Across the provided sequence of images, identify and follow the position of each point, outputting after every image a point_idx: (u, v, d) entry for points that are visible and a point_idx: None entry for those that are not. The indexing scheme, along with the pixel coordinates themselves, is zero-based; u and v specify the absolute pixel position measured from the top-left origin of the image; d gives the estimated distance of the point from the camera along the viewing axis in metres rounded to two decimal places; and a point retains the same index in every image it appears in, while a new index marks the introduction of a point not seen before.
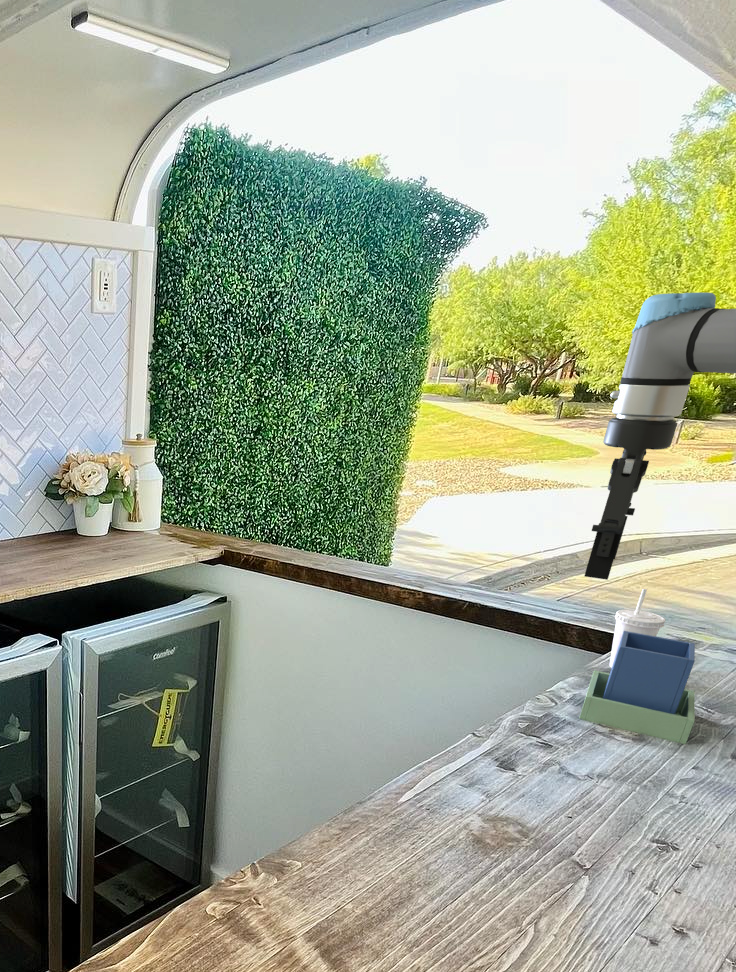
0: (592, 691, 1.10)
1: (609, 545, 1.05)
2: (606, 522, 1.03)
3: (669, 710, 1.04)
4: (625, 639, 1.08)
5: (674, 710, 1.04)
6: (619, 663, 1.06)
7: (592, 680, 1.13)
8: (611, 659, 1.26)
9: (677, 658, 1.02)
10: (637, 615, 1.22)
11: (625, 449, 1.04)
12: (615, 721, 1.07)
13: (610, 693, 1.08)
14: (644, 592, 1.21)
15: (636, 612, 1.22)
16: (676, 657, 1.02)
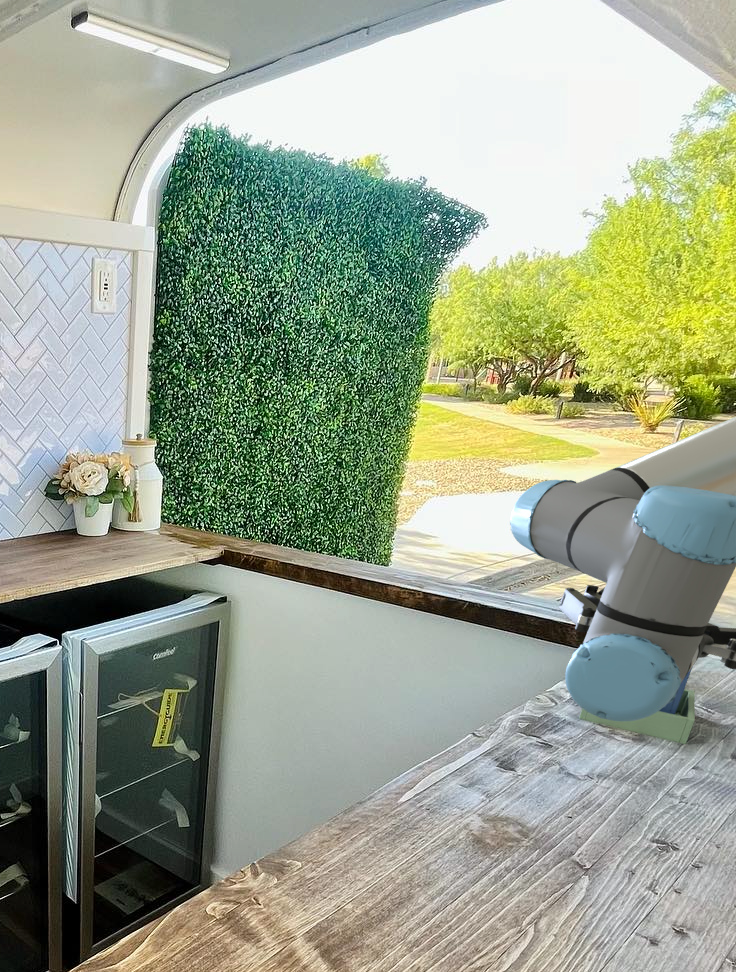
0: None
1: None
2: None
3: (669, 710, 1.04)
4: None
5: (674, 710, 1.04)
6: None
7: None
8: None
9: None
10: None
11: None
12: (615, 721, 1.07)
13: None
14: None
15: None
16: None
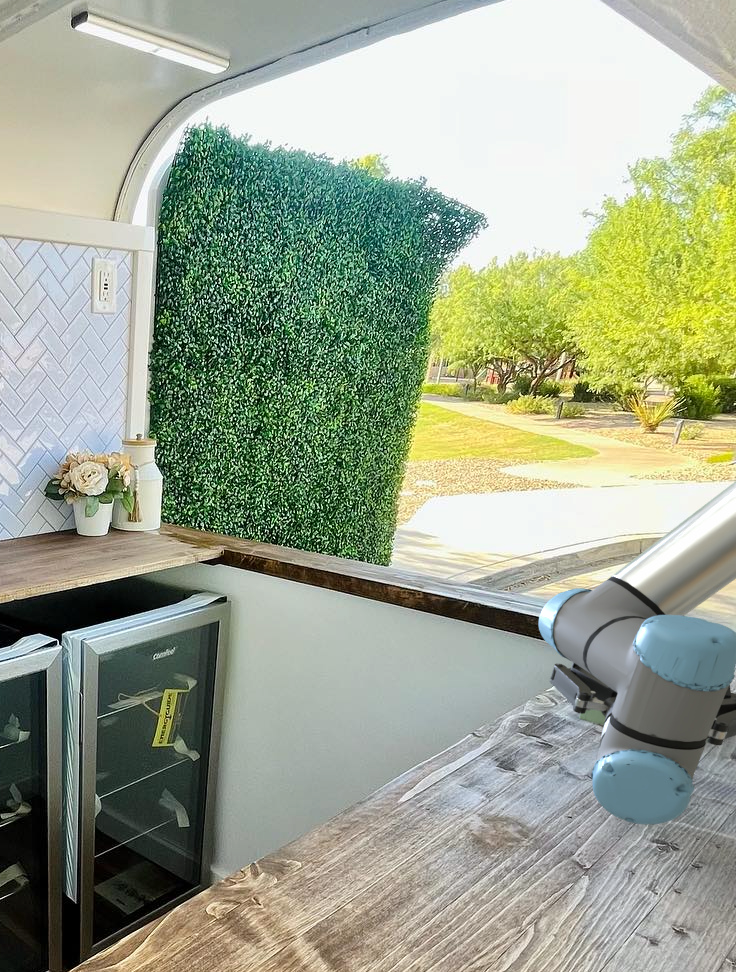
0: None
1: None
2: None
3: None
4: None
5: None
6: None
7: None
8: None
9: None
10: None
11: None
12: None
13: None
14: None
15: None
16: None
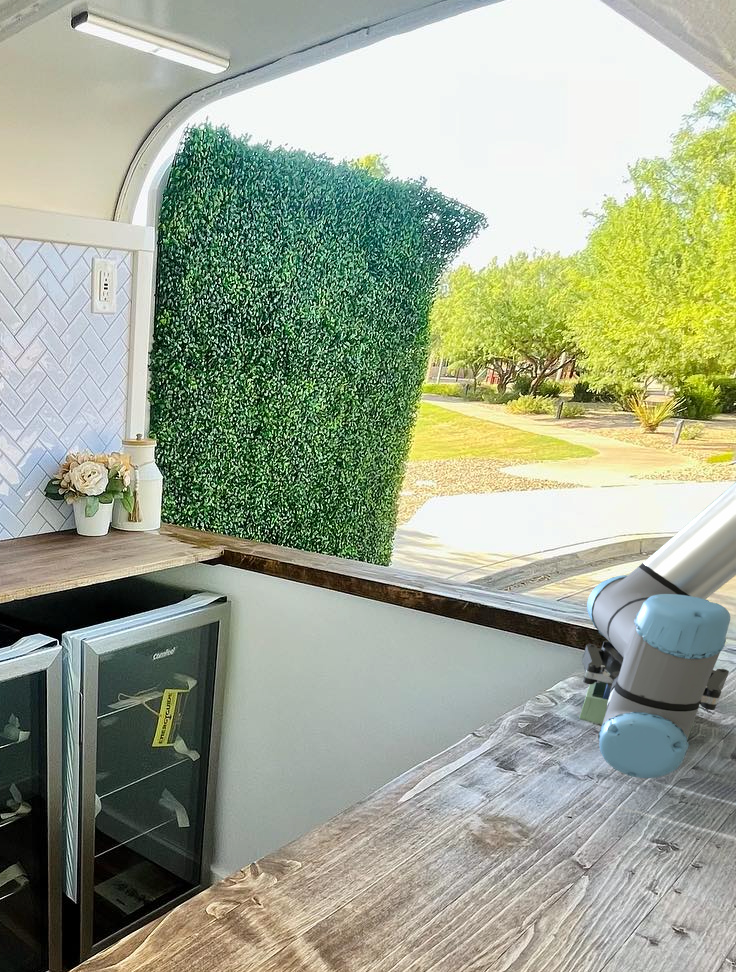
0: (592, 691, 1.10)
1: None
2: (722, 684, 1.00)
3: None
4: None
5: None
6: None
7: None
8: None
9: None
10: None
11: None
12: None
13: None
14: None
15: None
16: None
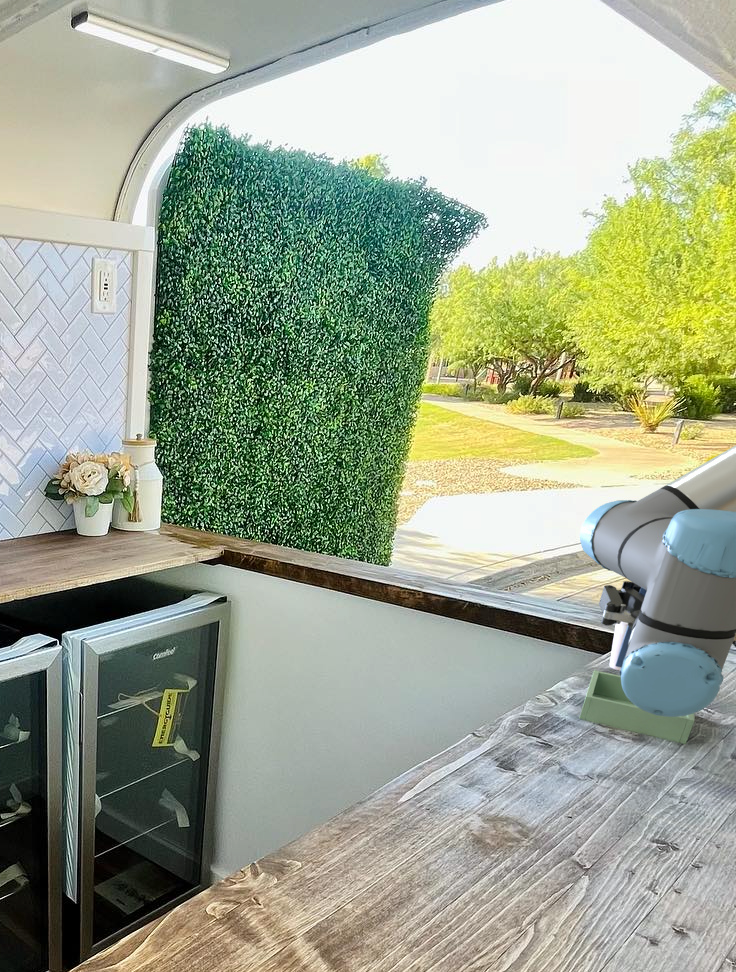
0: (592, 691, 1.10)
1: None
2: None
3: None
4: None
5: None
6: None
7: (592, 680, 1.13)
8: (611, 659, 1.26)
9: None
10: None
11: None
12: (615, 721, 1.07)
13: None
14: None
15: None
16: None
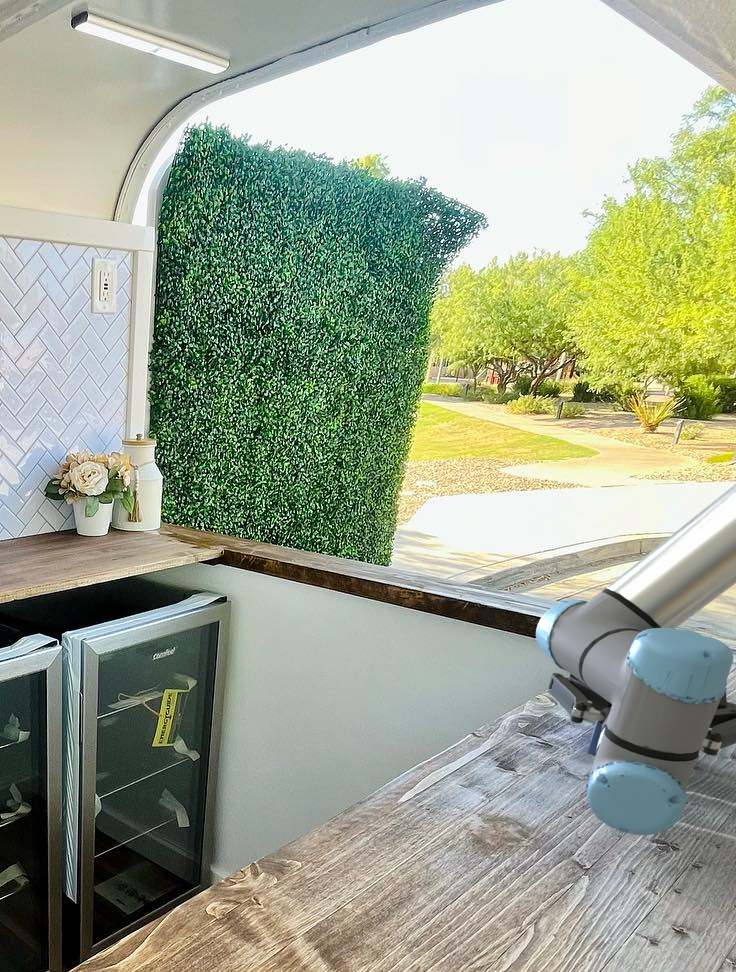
0: None
1: None
2: None
3: None
4: None
5: None
6: None
7: None
8: None
9: None
10: None
11: None
12: None
13: (600, 731, 0.99)
14: None
15: None
16: None
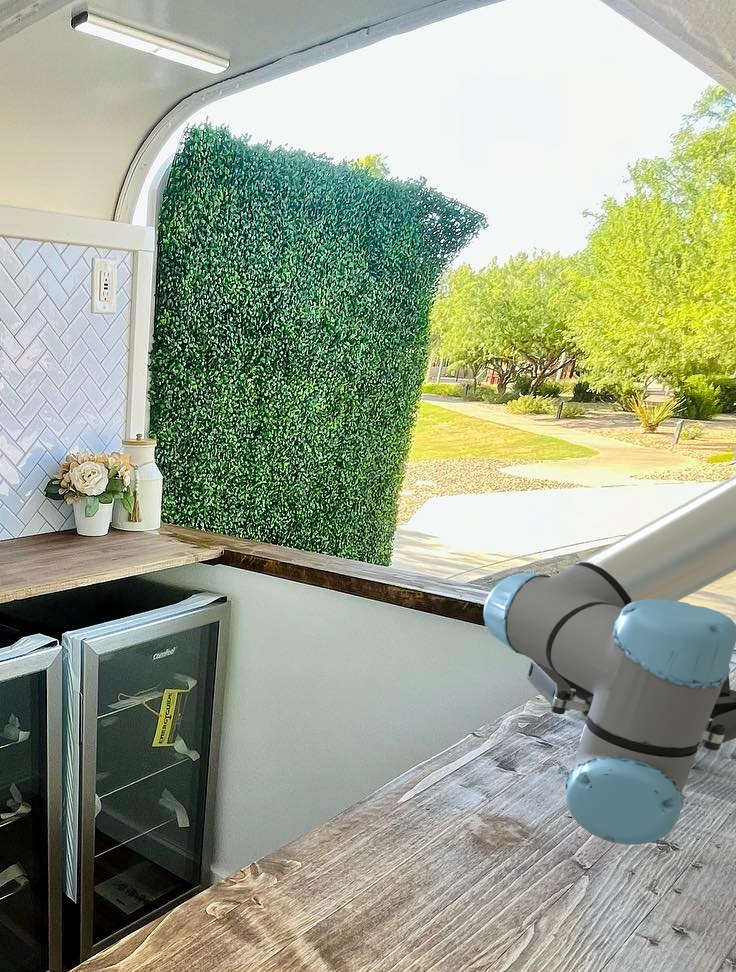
0: None
1: None
2: None
3: None
4: None
5: None
6: None
7: None
8: None
9: None
10: None
11: None
12: None
13: None
14: None
15: None
16: None
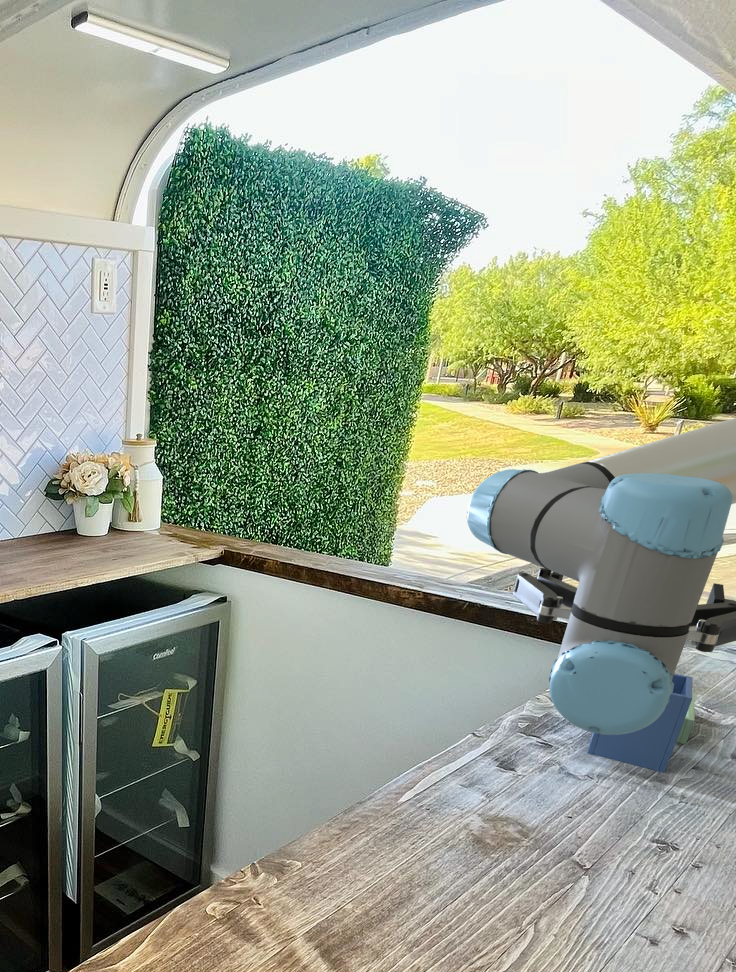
0: None
1: None
2: None
3: (664, 751, 0.95)
4: None
5: (670, 751, 0.95)
6: None
7: None
8: None
9: (673, 695, 0.93)
10: None
11: None
12: None
13: None
14: None
15: None
16: (672, 694, 0.93)
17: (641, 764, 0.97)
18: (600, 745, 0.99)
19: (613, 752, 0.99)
